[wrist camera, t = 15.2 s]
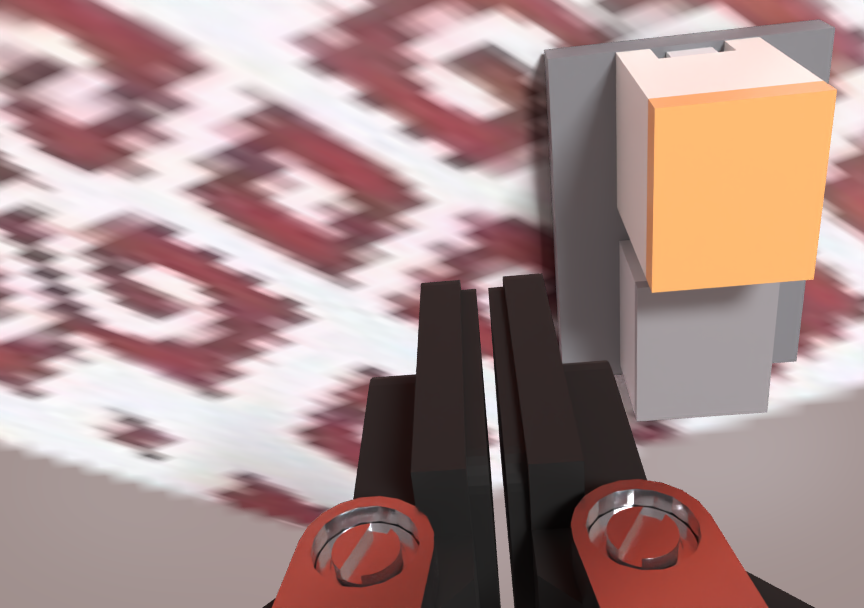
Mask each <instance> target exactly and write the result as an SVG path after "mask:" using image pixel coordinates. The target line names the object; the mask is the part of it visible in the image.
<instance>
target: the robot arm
mask: <svg viewBox="0 0 864 608" xmlns="http://www.w3.org/2000/svg"><path fill="white" fill-rule="evenodd" d="M488 290H489V304H490V317H491V331H492V344H493V358H494V371H495V385H496V398H497V412H498V425H499V439H500V452H501V464H502V475H503V486H504V497H505V507H506V518H507V530H508V541H509V552H510V563H511V574H512V586H513V596H514V608H814V607H813V606H811V605H808V604H807V603H805V602H803V601H801V600H799V599H797V598H796V597H794V596H792V595H790V594H788V593H786V592H784V591H782V590H781V589H779V588H777V587H775V586H773V585H771V584H769V583H767V582H765V581H763V580H762V579H760V578H758V577H756V576H754V575H752V574H750V573H748V572H747V571H745V569H744V567H743V566H742V564H741V563H740V561H739V559H738V558H737V556H736V554H735V553H734V551H733V550H732V548H731V546H730V545H729V543H728V542H727V540H726V539H725V537H724V535H723V533H722V532H721V530H720V529H719V527H718V525H717V524H716V522H715V521H714V519H713V517H712V516H711V514H710V513H709V512H708V511H707V510H706V509H705V507H703V505H702V504H701V503H700V502H699V501H698V500H697V499H695V498H694V497H692V496H690V495H689V494H687V493H686V492H684V491H683V490H681V489H678V488H675V487H673V486H670V485H667V484H665V483H662V482H656V481H648V480H647V479H646V476H645V472H644V469H643V466H642V463H641V460H640V457H639V453H638V450H637V447H636V444H635V441H634V438H633V434H632V431H631V428H630V425H629V422H628V419H627V416H626V412H625V409H624V406H623V403H622V400H621V397H620V393H619V390H618V387H617V384H616V381H615V378H614V374H613V371H612V368H611V366H610V363H609V362H608V361H607V360H604V361H590V362H577V363H563V364H562V359H561V355H560V351H559V346H558V342H557V337H556V333H555V328H554V324H553V319H552V315H551V310H550V306H549V302H548V297H547V293H546V288H545V284H544V279H543V275H542V274H529V275H517V276H504V277H503V287H494V288H488ZM499 592H500V591H499V578H498V564H497V551H496V537H495V522H494V508H493V495H492V481H491V467H490V454H489V441H488V429H487V417H486V405H485V393H484V381H483V369H482V356H481V344H480V332H479V320H478V308H477V296H476V289H469V290H461V285H460V280H455V281H443V282H430V283H421V294H420V312H419V330H418V349H417V367H416V374H415V375H401V376H388V377H374V378H372V379H371V380H370V385H369V391H368V398H367V405H366V412H365V419H364V426H363V434H362V441H361V448H360V455H359V462H358V469H357V476H356V484H355V491H354V498H353V500H350V501H346V502H343V503H340V504H338V505H336V506H334V507H333V508H331V509H329V510H327V511H325V512H323V513H322V514H321V515H320V516H319V517H317V518H316V519H315V520H314V521H313V522H312V523H311V524H310V525H309V526H308V527H307V529H306V530H305V532H304V533H303V535H302V537H301V538H300V540H299V542H298V544H297V547H296V549H295V552H294V554H293V557H292V559H291V562H290V564H289V567H288V569H287V571H286V574H285V577H284V579H283V582H282V584H281V586H280V589H279V591H278V594H277V596H276V598H275V599H274V600H272V601H271V602H270V603H268V604H267V605H266V606H264V607H263V608H501V605H500V593H499Z"/></svg>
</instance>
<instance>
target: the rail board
mask: <svg viewBox="0 0 864 608" xmlns="http://www.w3.org/2000/svg"><path fill="white" fill-rule="evenodd" d="M834 33H835V27H833V26H831V25H829V24H827V23H825V22H823V21H821V20H810V21H801V22H792V23H783V24H774V25H765V26H756V27H747V28H738V29H729V30H720V31H710V32H701V33H692V34H683V35H674V36H665V37H656V38H647V39H638V40H629V41H620V42H611V43H602V44H593V45H584V46H575V47H566V48H557V49H548V50H544V53H545V73H546V93H547V113H548V133H549V153H550V174H551V194H552V214H553V234H554V254H555V274H556V294H557V315H558V335H559V351H560V355H561V359H562V364H563V363H577V362H590V361H604V360H607V361H608V362H609V363H610V366H611V368H612V371H613V374H614V375H622V374H623V376H624V380H625V383H626V386H627V390H628V393H629V397H630V400H631V403H632V407H633V410H634V414H635V417H636V420H637V421H651V420H665V419H679V418H693V417H707V416H722V415H736V414H750V413H764V412H767V408H768V397H769V387H770V377H771V367H772V363H781V362H794V361H796V359H797V351H798V342H799V334H800V325H801V316H802V308H803V299H804V291H805V282H806V280H800V281H788V282H776V283H764V284H752V285H740V286H728V287H716V288H703V289H691V290H679V291H667V292H655V293H652V292H651V289H650V287H649V284H648V282H647V280H646V277H645V275H644V272H643V270H642V267H641V265H640V262H639V260H638V258H637V255H636V253H635V250H634V248H633V245H632V243H631V240H630V238H629V235H628V233H627V231H626V228H625V226H624V223H623V221H622V218H621V216H620V213H619V211H618V209H617V136H616V52H626V51H635V50H644V49H651V51H652V52H653V53H654V54H655V55H656V56H657V58H658V59H660V58H670V57H679V56H688V55H698V54H707V53H716V52H724V42H725V41H727V40H737V39H746V38H755V37H760V38H762V39H763V40H764V41H766V42H767V43H769V44H770V45H772V46H773V47H775V48H776V49H778V50H779V51H781V52H782V53H784V54H785V55H786V56H788V57H789V58H791V59H792V60H794V61H795V62H797V63H798V64H800V65H801V66H803V67H804V68H805V69H807V70H808V71H810V72H811V73H813V74H814V75H816V76H817V77H819V78H820V79H822V80H823V81H825V82H826V83H827V84H829V76H830V67H831V59H832V50H833V42H834Z"/></svg>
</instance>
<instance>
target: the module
mask: <svg viewBox="0 0 864 608" xmlns="http://www.w3.org/2000/svg"><path fill="white" fill-rule="evenodd" d="M836 93H837V90H836V89H835V88H833V87H832V86H830V85H829V84H827V83H826V82H825V81H823V80H822V79H820V78H819V77H817V76H816V75H814V74H813V73H811V72H810V71H808V70H807V69H805V68H804V67H803V66H801V65H800V64H798V63H797V62H795V61H794V60H792V59H791V58H789V57H788V56H786V55H785V54H784V53H782V52H781V51H779V50H778V49H776V48H775V47H773V46H772V45H770V44H769V43H767V42H766V41H764V40H763V39H762V38H760V37H755V38H746V39H737V40H727V41H725V42H724V52H716V53H707V54H698V55H688V56H679V57H670V58H660V59H658V58H657V56H656V55H655V54H654V53H653V52H652V51H651V49H644V50H635V51H626V52H616V136H617V209H618V211H619V213H620V216H621V218H622V221H623V223H624V226H625V228H626V231H627V233H628V235H629V238H630V240H631V243H632V245H633V248H634V250H635V253H636V255H637V258H638V260H639V262H640V265H641V267H642V270H643V272H644V275H645V277H646V280H647V282H648V284H649V287H650V289H651V292H652V293H655V292H667V291H679V290H691V289H703V288H716V287H728V286H740V285H752V284H764V283H776V282H788V281H800V280H812V279H814V272H815V263H816V255H817V247H818V239H819V231H820V223H821V215H822V207H823V198H824V190H825V182H826V174H827V166H828V158H829V150H830V142H831V133H832V125H833V117H834V109H835V101H836Z"/></svg>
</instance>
